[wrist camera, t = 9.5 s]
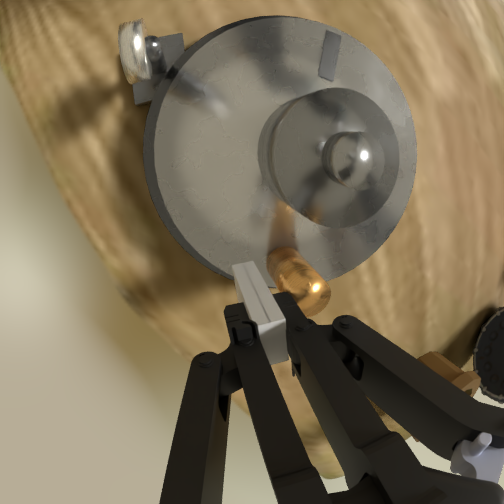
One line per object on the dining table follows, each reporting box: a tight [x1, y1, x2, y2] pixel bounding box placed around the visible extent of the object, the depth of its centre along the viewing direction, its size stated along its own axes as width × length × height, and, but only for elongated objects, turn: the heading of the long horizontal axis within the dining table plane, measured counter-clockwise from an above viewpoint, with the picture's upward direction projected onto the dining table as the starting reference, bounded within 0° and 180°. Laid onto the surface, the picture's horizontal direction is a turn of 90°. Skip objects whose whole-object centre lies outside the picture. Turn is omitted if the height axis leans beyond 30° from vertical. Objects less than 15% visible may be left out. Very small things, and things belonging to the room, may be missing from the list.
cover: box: [257, 87, 399, 228], centre depth 15 cm, size 8×8×6 cm
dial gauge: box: [118, 18, 185, 106], centre depth 13 cm, size 5×4×8 cm
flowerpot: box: [412, 352, 481, 442], centre depth 25 cm, size 14×14×30 cm
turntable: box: [154, 17, 417, 317], centre depth 16 cm, size 20×20×6 cm
